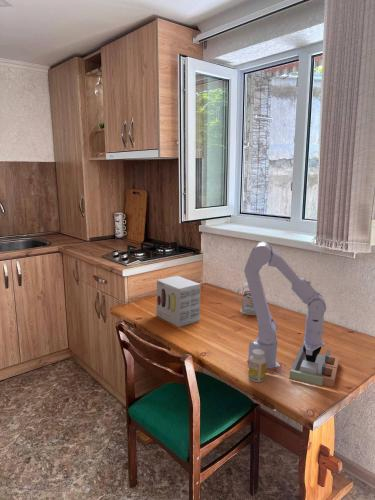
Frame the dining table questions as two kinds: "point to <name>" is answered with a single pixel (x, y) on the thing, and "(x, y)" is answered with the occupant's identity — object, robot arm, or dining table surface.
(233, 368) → the dining table surface
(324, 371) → the box
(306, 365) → the block
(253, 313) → the french press
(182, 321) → the supplement box
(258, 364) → the supplement bottle
